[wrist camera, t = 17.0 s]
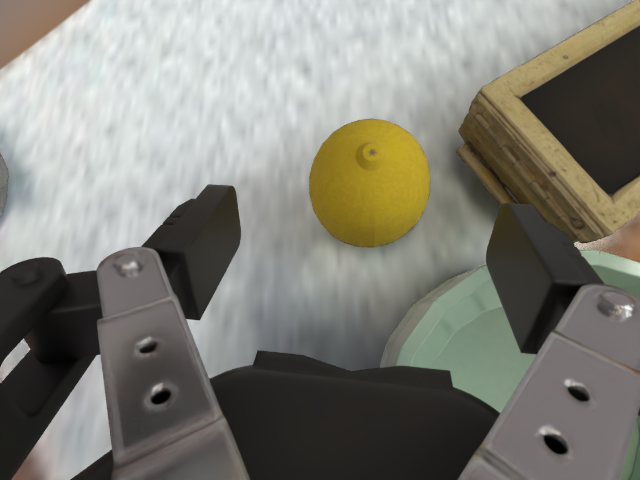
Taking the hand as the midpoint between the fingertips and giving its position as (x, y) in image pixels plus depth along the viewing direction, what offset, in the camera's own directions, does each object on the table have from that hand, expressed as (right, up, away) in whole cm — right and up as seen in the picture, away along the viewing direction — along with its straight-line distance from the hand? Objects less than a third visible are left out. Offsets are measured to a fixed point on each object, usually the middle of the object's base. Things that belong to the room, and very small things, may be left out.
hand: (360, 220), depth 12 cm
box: (+17, +7, +10) cm, 21 cm away
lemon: (+1, +1, +10) cm, 10 cm away
